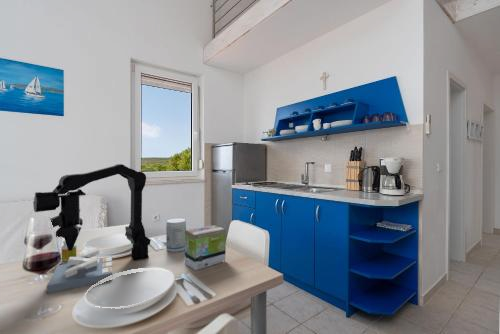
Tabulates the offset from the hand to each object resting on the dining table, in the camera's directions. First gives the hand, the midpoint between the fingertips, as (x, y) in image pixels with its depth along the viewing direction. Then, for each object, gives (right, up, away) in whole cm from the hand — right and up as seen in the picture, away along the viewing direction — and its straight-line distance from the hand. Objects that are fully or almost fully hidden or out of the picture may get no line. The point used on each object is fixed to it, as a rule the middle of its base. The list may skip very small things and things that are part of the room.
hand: (70, 249), depth 93 cm
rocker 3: (+6, -6, -3) cm, 9 cm away
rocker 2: (+3, -6, +2) cm, 7 cm away
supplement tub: (+31, -11, +31) cm, 45 cm away
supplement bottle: (-13, -11, +16) cm, 23 cm away
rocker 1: (0, -5, +7) cm, 9 cm away
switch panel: (+3, -11, +2) cm, 12 cm away
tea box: (+49, -11, +14) cm, 52 cm away
